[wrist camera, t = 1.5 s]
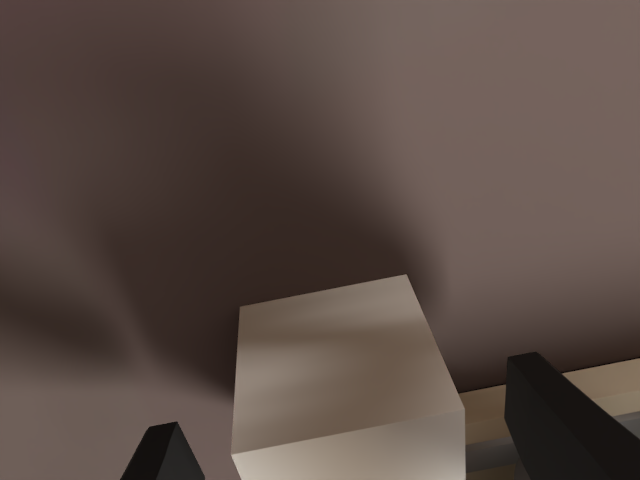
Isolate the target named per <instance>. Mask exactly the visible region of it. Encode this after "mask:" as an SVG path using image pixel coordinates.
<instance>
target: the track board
mask: <svg viewBox="0 0 640 480" xmlns="http://www.w3.org/2000/svg"><path fill="white" fill-rule="evenodd" d="M562 374H563V375H564V376H565V377H566V378H567V379H568V380H569V381H571V382H572V383H573V384H574V385H575V386H576V387H577V388H579V389H580V390H581V391H582V392H583V393H584V394H586V395H587V396H588V397H589V398H590V399H591V400H593V401H594V402H595V403H596V404H597V405H599V406H600V407H601V408H602V409H603V410H605V411H606V412H607V413H608V414H609V415H611V416H612V417H613V418H614V419H616V420H617V421H618V422H619V423H621V424H622V425H623V426H624V427H626V428H627V429H628V430H629V431H631V432H632V433H633V434H634V435H635V436H637V437H638V438H639V439H640V358H639V359H634V360H628V361H623V362H618V363H613V364H608V365H603V366H598V367H593V368H588V369H582V370H577V371H572V372H567V373H562ZM505 394H506V385H501V386H495V387H490V388H485V389H480V390H475V391H470V392H465V393H460V394H458V395H459V397H460V399H461V401H462V404H463V406H464V408H465V470H466V480H514V470H515V465H516V463H517V461H518V459H519V457H520V456H519V454H518V452H517V449H516V447H515V445H514V442H513V440H512V437H511V435H510V432H509V430H508V427H507V424H506V422H505V419H504V411H505Z"/></svg>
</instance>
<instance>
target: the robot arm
mask: <svg viewBox="0 0 640 480" xmlns="http://www.w3.org/2000/svg"><path fill="white" fill-rule="evenodd" d="M504 419H505V422H506V424H507V427H508V430H509V432H510V435H511V437H512V440H513V442H514V445H515V447H516V449H517V452H518V454H519V456H520V459H521V461H522V464H523V466H524V468H525V470H526V472H527V473H528V475H529V477H530V479H531V480H640V439H639V438H638V437H637V436H635V435H634V434H633V433H632V432H631V431H629V430H628V429H627V428H626V427H624V426H623V425H622V424H621V423H619V422H618V421H617V420H616V419H614V418H613V417H612V416H611V415H609V414H608V413H607V412H606V411H605V410H603V409H602V408H601V407H600V406H599V405H597V404H596V403H595V402H594V401H593V400H591V399H590V398H589V397H588V396H587V395H586V394H584V393H583V392H582V391H581V390H580V389H579V388H577V387H576V386H575V385H574V384H573V383H572V382H571V381H569V380H568V379H567V378H566V377H565V376H564V375H563V374H561V373H560V372H559V371H558V370H557V369H556V368H555V367H554V366H552V365H551V364H550V363H549V362H548V361H547V360H546V359H545V358H543V357H542V356H541V355H540V354H539V353H537V352H531V353H526V354H521V355H516V356H511V357H508V360H507V377H506V394H505V411H504ZM120 480H205V476H204V474H203V472H202V470H201V468H200V466H199V464H198V462H197V460H196V458H195V456H194V454H193V452H192V450H191V448H190V446H189V444H188V442H187V440H186V438H185V436H184V434H183V432H182V430H181V428H180V426H179V424H178V422H172V423H167V424H162V425H156V426H151V427H149V428H148V429H147V431H146V432H145V434H144V436H143V438H142V440H141V442H140V444H139V445H138V447H137V449H136V451H135V453H134V455H133V457H132V459H131V460H130V462H129V464H128V466H127V468H126V470H125V472H124V474H123V475H122V477H121V479H120Z"/></svg>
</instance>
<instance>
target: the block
mask: <svg viewBox="0 0 640 480" xmlns="http://www.w3.org/2000/svg"><path fill="white" fill-rule="evenodd" d="M231 456H232V458H233V461H234V463H235V465H236V468H237V470H238V472H239V475H240V477H241V479H242V480H466V470H465V408H464V406H463V404H462V401H461V399H460V397H459V395H458V392H457V390H456V388H455V385H454V383H453V381H452V378H451V376H450V374H449V371H448V369H447V367H446V364H445V362H444V360H443V358H442V355H441V353H440V351H439V348H438V346H437V344H436V341H435V339H434V337H433V334H432V332H431V330H430V328H429V325H428V323H427V321H426V318H425V316H424V314H423V311H422V309H421V307H420V304H419V302H418V300H417V298H416V295H415V293H414V291H413V288H412V286H411V284H410V281H409V279H408V277H407V274H405V275H400V276H395V277H390V278H385V279H380V280H374V281H369V282H364V283H359V284H354V285H349V286H344V287H339V288H333V289H328V290H323V291H318V292H313V293H308V294H303V295H298V296H293V297H287V298H282V299H277V300H272V301H267V302H262V303H257V304H252V305H246V306H241V307H240V313H239V329H238V346H237V362H236V379H235V396H234V412H233V429H232V446H231Z"/></svg>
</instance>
